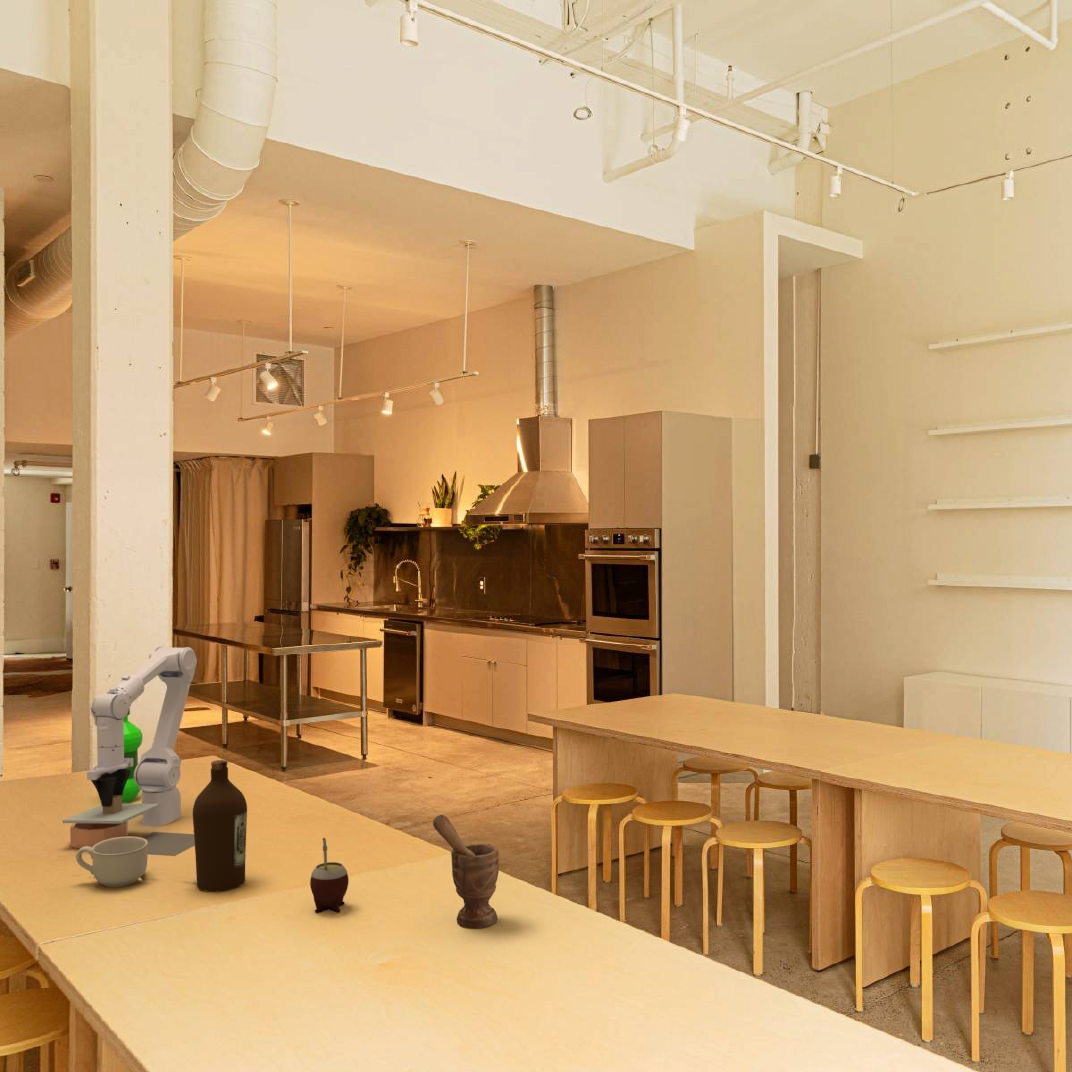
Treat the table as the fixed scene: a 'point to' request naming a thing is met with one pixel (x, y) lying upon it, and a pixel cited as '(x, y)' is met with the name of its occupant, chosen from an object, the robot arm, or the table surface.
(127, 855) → the teacup
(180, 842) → the mat
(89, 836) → the bowl
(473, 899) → the mortar and pestle
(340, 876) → the mate gourd
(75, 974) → the table surface
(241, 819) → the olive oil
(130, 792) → the plastic bottle
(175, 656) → the robot arm
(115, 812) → the lid
